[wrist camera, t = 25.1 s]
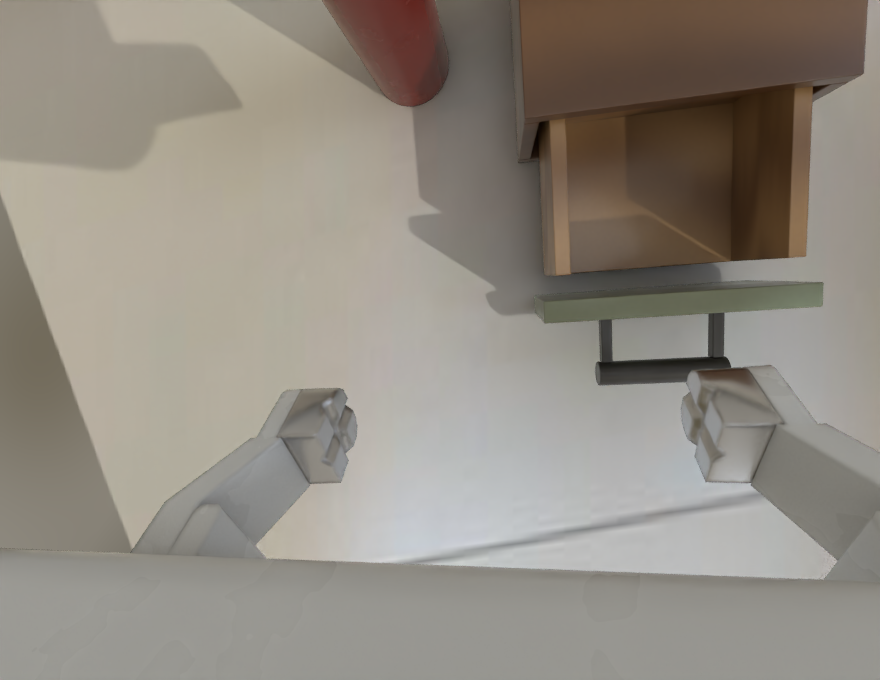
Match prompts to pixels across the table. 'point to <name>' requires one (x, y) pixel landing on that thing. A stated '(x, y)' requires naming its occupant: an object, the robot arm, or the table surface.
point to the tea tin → (396, 45)
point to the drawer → (676, 213)
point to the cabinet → (673, 54)
